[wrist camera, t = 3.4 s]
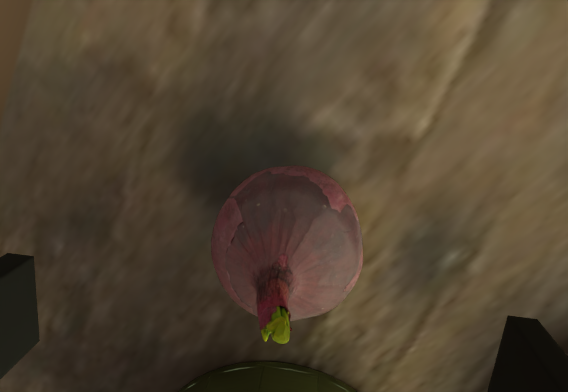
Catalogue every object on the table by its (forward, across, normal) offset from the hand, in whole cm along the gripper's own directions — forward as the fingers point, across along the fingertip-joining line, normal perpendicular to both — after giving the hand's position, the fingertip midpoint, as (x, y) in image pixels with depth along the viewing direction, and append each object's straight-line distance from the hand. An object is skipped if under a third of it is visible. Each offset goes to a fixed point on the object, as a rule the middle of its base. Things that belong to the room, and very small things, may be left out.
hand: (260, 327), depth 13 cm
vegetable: (+10, 0, 0) cm, 10 cm away
